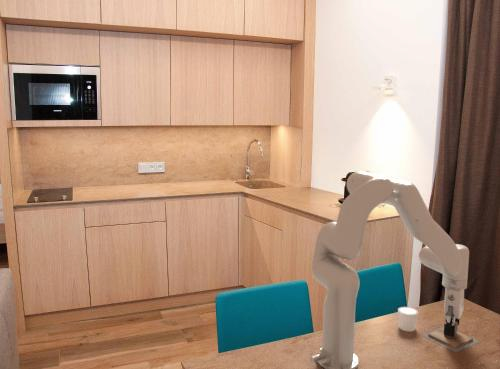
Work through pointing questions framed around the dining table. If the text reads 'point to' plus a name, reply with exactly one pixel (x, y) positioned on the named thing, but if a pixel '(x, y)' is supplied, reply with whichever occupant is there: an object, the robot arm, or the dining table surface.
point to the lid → (454, 341)
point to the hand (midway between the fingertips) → (451, 329)
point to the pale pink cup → (407, 318)
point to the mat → (449, 346)
